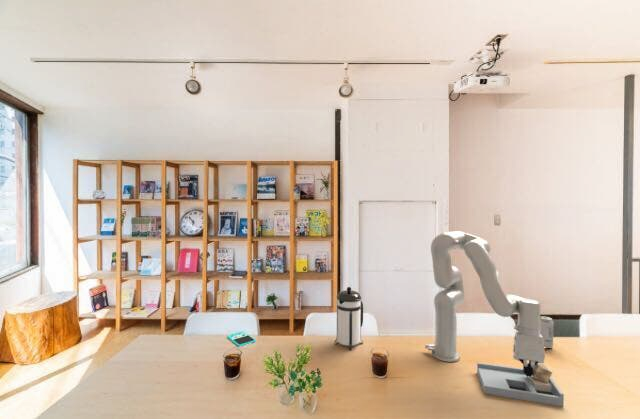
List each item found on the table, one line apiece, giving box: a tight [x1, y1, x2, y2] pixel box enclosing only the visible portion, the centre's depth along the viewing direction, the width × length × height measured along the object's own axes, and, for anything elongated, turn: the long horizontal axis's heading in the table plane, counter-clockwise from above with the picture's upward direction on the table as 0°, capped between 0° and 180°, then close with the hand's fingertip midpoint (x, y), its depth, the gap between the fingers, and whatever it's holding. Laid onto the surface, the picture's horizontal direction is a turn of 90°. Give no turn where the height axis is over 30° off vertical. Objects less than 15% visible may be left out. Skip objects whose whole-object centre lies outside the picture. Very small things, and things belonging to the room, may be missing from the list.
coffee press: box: [333, 286, 364, 351], centre depth 167 cm, size 17×16×30 cm
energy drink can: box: [540, 315, 554, 349], centre depth 164 cm, size 6×6×15 cm
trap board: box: [476, 361, 565, 407], centre depth 128 cm, size 26×16×4 cm, turn 73°
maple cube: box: [532, 363, 553, 383], centre depth 129 cm, size 5×5×5 cm
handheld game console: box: [227, 330, 257, 348], centre depth 172 cm, size 10×16×1 cm, turn 39°
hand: (527, 375), depth 130 cm, fingers closed
